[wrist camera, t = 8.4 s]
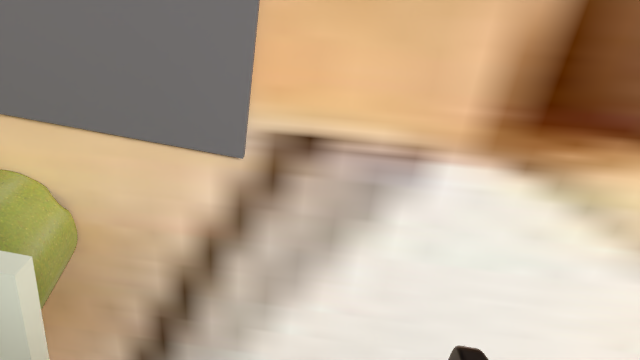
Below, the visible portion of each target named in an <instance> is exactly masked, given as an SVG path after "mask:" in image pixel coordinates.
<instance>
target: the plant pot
mask: <svg viewBox="0 0 640 360" xmlns="http://www.w3.org/2000/svg"><path fill="white" fill-rule="evenodd" d="M76 245H77V230H76V226H75V223H74V220H73V218H72V216H71V214H70V212H69V211H68V210H66V209H65V208H63V207H62V206H61V205H59V204H58V203H57V201H56V200H55V199H54V198H53V197H52V195H51V194H50V192H49V191H48V189H47V188H46V187H45V186H44V185H42V184H41V183H39V182H37V181H35V180H33V179H31V178H29V177H27V176H24V175H22V174H19V173H15V172H11V171H7V170H0V251H6V252H11V253H16V254H22V255H27V256H32V259H33V265H34V271H35V277H36V283H37V289H38V295H39V301H40V306H41V309H42V308H43V306H44V304H45V302H46V300H47V299H48V297H49V295H50V293H51V292H52V290H53V288H54V286H55V285H56V283H57V281H58V279H59V277H60V276H61V274H62V272H63V270H64V269H65V267H66V265H67V263H68V262H69V260H70V258H71V256H72V254H73V253H74V250H75V248H76Z"/></svg>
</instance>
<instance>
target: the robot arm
mask: <svg viewBox="0 0 640 360" xmlns="http://www.w3.org/2000/svg"><path fill="white" fill-rule="evenodd" d="M448 360H488V358H487V357H486V356H485V354H484V353H483V352H482V351H481V350H479V349H476V348H471V347H465V346H456V347H455V348H454V349H453V351H452V353H451V355H450V357H449V359H448Z"/></svg>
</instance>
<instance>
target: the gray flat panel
mask: <svg viewBox="0 0 640 360" xmlns="http://www.w3.org/2000/svg"><path fill="white" fill-rule="evenodd" d="M259 1H260V0H0V114H4V115H9V116H15V117H20V118H26V119H31V120H36V121H42V122H47V123H53V124H58V125H64V126H69V127H74V128H80V129H85V130H91V131H96V132H101V133H107V134H112V135H118V136H123V137H128V138H134V139H139V140H145V141H150V142H155V143H161V144H166V145H172V146H177V147H182V148H188V149H193V150H199V151H204V152H210V153H215V154H220V155H226V156H231V157H237V158H242V159H243V157H244V154H245V144H246V134H247V124H248V113H249V103H250V93H251V83H252V72H253V62H254V52H255V42H256V32H257V21H258V11H259Z"/></svg>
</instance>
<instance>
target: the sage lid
mask: <svg viewBox="0 0 640 360" xmlns="http://www.w3.org/2000/svg"><path fill="white" fill-rule="evenodd" d="M0 360H49V354H48V348H47V342H46V336H45V330H44V324H43V318H42V312H41V306H40V301H39V295H38V289H37V283H36V277H35V271H34V265H33V259H32V256H27V255H22V254H16V253H11V252H6V251H0Z"/></svg>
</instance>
